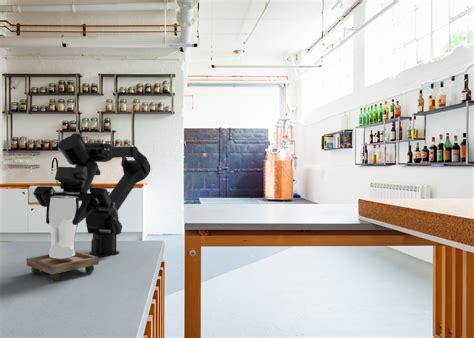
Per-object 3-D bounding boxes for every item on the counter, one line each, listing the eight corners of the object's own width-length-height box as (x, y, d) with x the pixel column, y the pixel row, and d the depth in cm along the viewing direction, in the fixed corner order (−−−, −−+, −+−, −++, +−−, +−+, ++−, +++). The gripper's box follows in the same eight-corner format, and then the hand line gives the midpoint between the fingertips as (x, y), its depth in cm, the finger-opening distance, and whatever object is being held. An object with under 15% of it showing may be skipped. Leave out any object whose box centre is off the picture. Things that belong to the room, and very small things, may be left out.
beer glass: (81, 258, 99) (84, 198, 98) (52, 261, 94) (55, 199, 93) (71, 252, 104) (73, 195, 103) (42, 255, 99) (45, 195, 98)
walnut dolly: (71, 264, 107) (72, 250, 107) (98, 272, 100) (98, 257, 100) (26, 273, 97) (26, 258, 97) (52, 283, 90) (52, 266, 90)
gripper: (37, 155, 103) (9, 202, 92) (107, 156, 101) (87, 204, 91) (53, 183, 111) (29, 229, 100) (118, 185, 109) (101, 232, 99)
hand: (61, 223), depth 97 cm, fingers closed on beer glass, 7 cm apart
